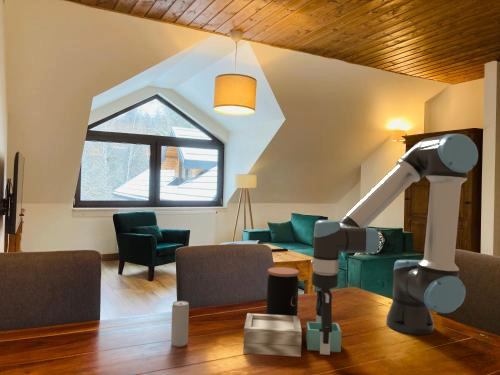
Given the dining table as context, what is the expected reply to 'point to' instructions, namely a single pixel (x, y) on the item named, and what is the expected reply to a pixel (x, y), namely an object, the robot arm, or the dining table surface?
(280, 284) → the coffee jar
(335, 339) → the teal crate
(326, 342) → the robot arm
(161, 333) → the dining table surface
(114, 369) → the dining table surface
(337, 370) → the dining table surface
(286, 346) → the beige crate
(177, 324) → the beverage can
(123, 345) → the dining table surface
